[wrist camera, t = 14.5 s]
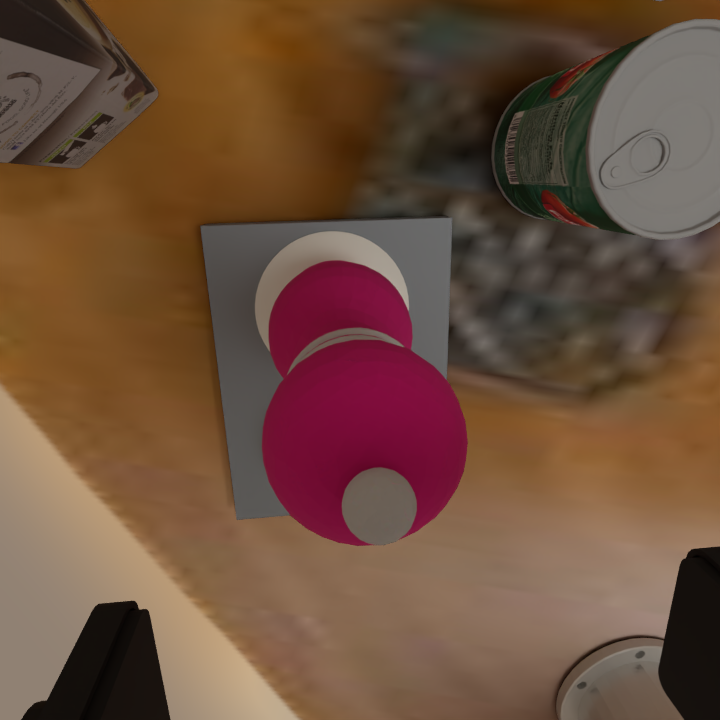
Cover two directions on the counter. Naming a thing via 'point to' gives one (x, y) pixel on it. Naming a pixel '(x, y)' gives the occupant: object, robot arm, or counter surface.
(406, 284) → the plate
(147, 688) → the robot arm
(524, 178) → the canned tomato
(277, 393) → the pepper mill
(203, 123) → the counter surface
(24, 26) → the coffee box
